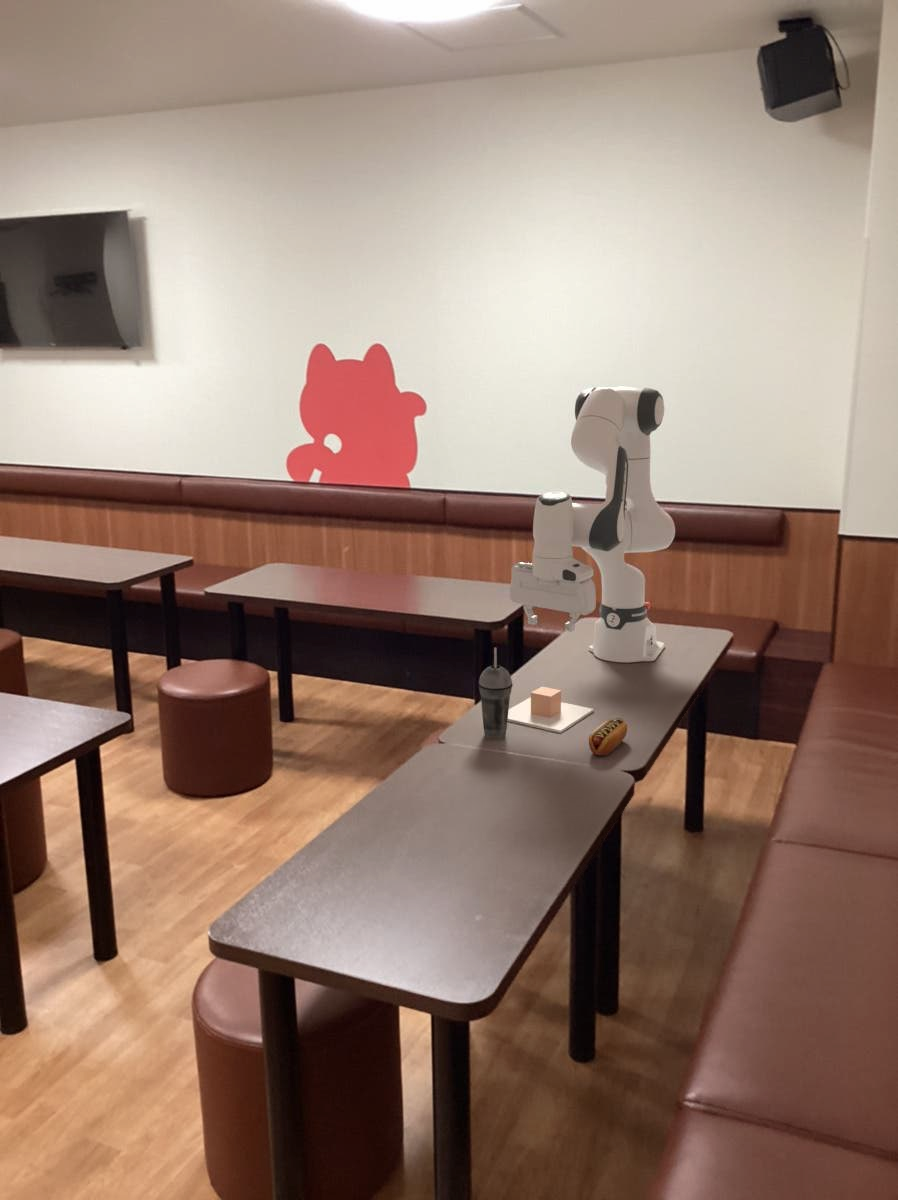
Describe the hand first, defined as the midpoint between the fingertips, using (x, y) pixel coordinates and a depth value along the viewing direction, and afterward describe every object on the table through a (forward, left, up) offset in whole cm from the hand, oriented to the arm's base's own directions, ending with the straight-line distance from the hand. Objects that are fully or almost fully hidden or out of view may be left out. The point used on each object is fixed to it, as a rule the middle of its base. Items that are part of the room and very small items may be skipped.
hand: (550, 627), depth 233 cm
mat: (+3, +1, -20) cm, 20 cm away
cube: (+3, +1, -19) cm, 19 cm away
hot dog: (+13, +21, -20) cm, 32 cm away
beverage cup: (+20, -2, -20) cm, 28 cm away
